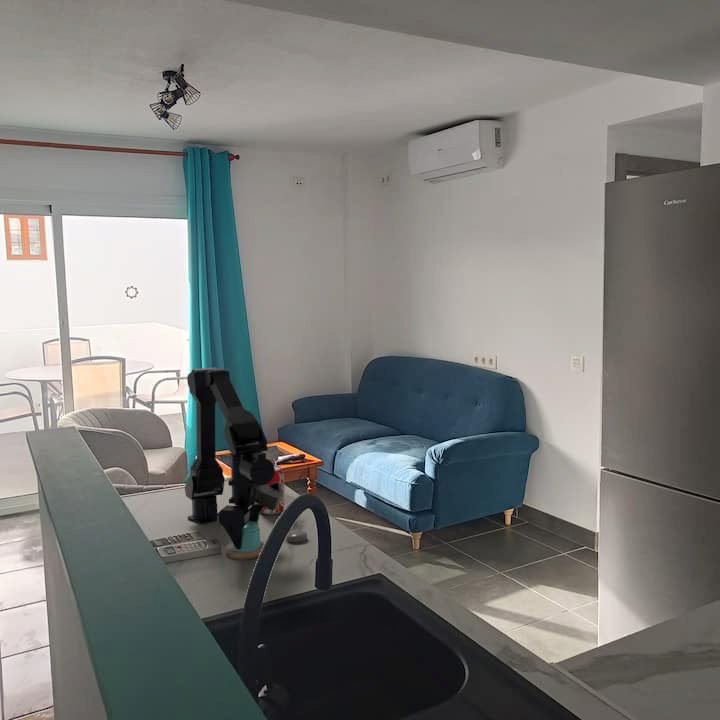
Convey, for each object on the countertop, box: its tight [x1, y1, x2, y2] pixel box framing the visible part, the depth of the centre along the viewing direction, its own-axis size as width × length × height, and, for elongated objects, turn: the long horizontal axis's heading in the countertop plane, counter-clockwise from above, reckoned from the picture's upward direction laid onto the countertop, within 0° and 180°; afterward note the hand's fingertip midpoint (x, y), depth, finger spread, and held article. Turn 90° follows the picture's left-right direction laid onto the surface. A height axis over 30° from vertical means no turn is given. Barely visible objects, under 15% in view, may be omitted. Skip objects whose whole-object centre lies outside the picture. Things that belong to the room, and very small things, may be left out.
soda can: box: [260, 464, 285, 516], centre depth 191 cm, size 7×7×12 cm
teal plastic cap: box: [231, 521, 261, 552], centre depth 163 cm, size 6×6×5 cm
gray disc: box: [285, 530, 308, 544], centre depth 171 cm, size 5×5×2 cm
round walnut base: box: [225, 540, 265, 561], centre depth 163 cm, size 9×9×2 cm
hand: (245, 541), depth 163 cm, fingers open, 9 cm apart
